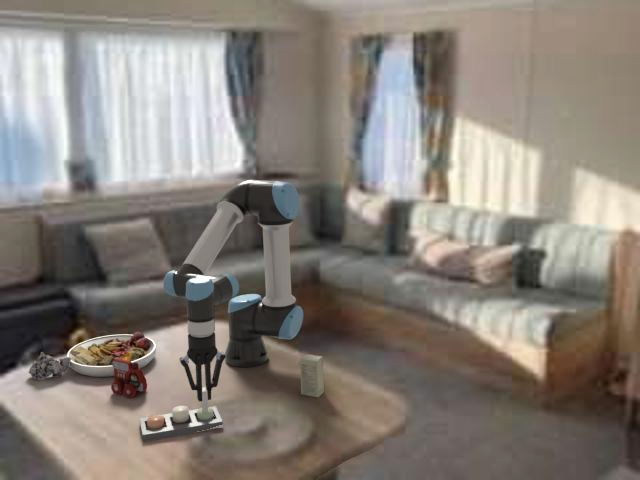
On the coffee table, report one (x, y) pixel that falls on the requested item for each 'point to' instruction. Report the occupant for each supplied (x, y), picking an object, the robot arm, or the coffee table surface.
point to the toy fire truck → (128, 378)
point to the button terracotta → (155, 422)
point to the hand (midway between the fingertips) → (204, 410)
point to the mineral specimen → (48, 367)
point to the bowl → (110, 353)
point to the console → (179, 426)
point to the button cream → (180, 414)
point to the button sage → (204, 415)
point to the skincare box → (311, 375)
